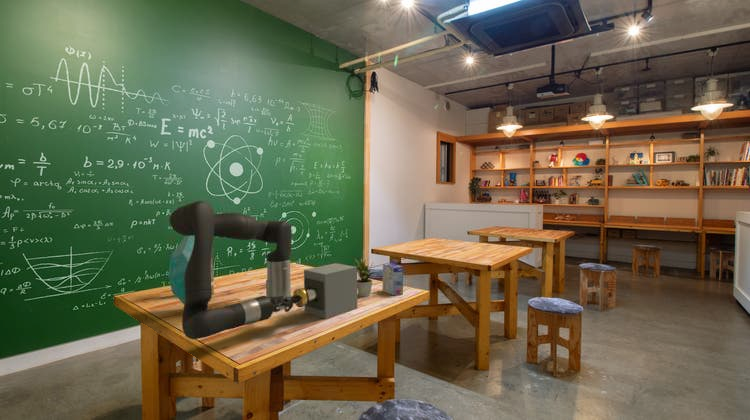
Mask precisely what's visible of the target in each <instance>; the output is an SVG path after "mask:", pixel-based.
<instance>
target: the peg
mask: <svg viewBox="0 0 750 420" xmlns="http://www.w3.org/2000/svg"><path fill="white" fill-rule="evenodd" d="M295 295H298V296H300V302H297V303H294V304H295V306H297V308H305V306H306V305H307V304H308V302H309V301H312V300H315V299H317V289H316V288H313V289H309V290H305V289H304V287H299V288H296V289H294V290H293V294H292V296H295Z"/></svg>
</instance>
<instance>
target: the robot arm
mask: <svg viewBox="0 0 750 420" xmlns="http://www.w3.org/2000/svg"><path fill="white" fill-rule="evenodd" d="M169 224H170V227H171V228H172V230H174V231H175V232H176V233H178V234H179V235H182V236H184V237H185V236H194V237H195V238H194V246H193V250H192V253H191V256H190V259H189V261H188V264H187V267H186V270H185V276H184V289H185V305H184V306H183V312H182V319H181V320H182V321H181V323H182V324H181V325H182V331H183V334H184V336H185V337H187V338H188V339H191V340H198V339H199V340H200V339H205V338H207V337H211V336H213V335H214V336H215V335H216V334H219V333H221V332H224V331H228V330H233V329H236V328H239V327H243V326H250V325H252V324H256V323H259V322H262V321H267V320H268V319H270V318H271V317H272V315H273V314H274V313H278V312H280V311H282V310H284V312H285V313H288V312H290V311H291V310H292V308H293V307H294V304H295V303H297V302H300V296H298V295H295V296H293V295H292V293H291V292H292V290H291V289H292V287H291V284H292V283H291V280H292V279H291V255H292V254H291V253H292V241H293V230H292V226H291V224H290V222H289V221H285V220H257V219H255V217H253V216H251V215H249V214H244V213H239V212H223V213H215V212H214V209H213V207H212V206H211V205H210V204H209V203H208V202H206V201H204V200H197V201H193V202H191V203H188V204H185V205H183V206H180V207H177V208H176V209H174V210H173V211H172V213H171V214H170V216H169ZM214 237H215V238H222V239H232V240H240V241H250V240H257V241H261V242H265V243H268V244H276V247H275V248H276V249H274V250H273V251H270V252H268V253H267V254H266V270H267V271H266V273H267V274H266V280H265V289H266V291H265V292H266V293H265V295H261V296H257V297H253V298H249V299H245V300H242V301H240V302H236V303H231V304H229V305H225V306H223V307H219V308H218V307H217V308H213V309H208V305H209V303H210V302H211V300H212V298H213V297H212V296H213V294H212V287H211V254H212V246H213V245H214V244H213V243H214ZM213 247H214V246H213Z"/></svg>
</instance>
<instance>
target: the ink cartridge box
mask: <svg viewBox="0 0 750 420" xmlns="http://www.w3.org/2000/svg"><path fill="white" fill-rule="evenodd" d="M382 291H383V292H385V293H387V294H389V295H391V296H398V295H399V296H400V295H403V294H404V267H403V266H402V265H398V259H393V260H392V261H391V263H383V264H382Z"/></svg>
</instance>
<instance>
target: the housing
mask: <svg viewBox="0 0 750 420" xmlns="http://www.w3.org/2000/svg"><path fill="white" fill-rule="evenodd" d="M354 266H355V265H346V264H342V263H336V262H335V263H331V264H326V265H321V266H317V267H316V266H315V267H311V268H307V269H306V268H305V269H303V279H304V278H307V279H311V280H316V281H320V282H323V285H324V310H323V311H322V310H319V309H315V308H312V307H309V306H304V313H306V314H310V315H313V316H315V317H318V318H322V319H324V320H327V319H330V318H333V317H336V316H339V315H341V314H345V313H347V312H351V311H353V310H357V309H358V289H357V280H358V275H357V274H358V272H357V270H358V268H357V266H355V267H354ZM310 289H313V288H312V287H310ZM315 301H317V299H315Z"/></svg>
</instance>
